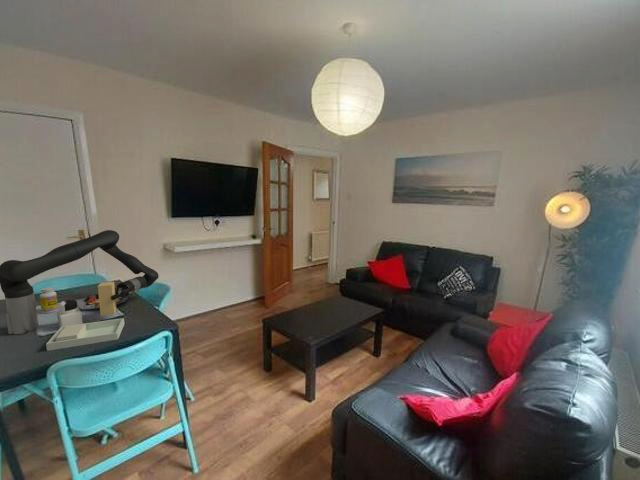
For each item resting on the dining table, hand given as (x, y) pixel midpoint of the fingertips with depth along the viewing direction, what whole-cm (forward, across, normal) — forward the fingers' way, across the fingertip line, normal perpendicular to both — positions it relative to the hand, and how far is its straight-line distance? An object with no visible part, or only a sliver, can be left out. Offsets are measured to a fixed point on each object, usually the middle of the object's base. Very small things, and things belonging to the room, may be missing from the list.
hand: (103, 297), depth 140 cm
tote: (+13, +3, +14) cm, 19 cm away
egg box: (+16, -2, +13) cm, 21 cm away
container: (+5, -14, +14) cm, 21 cm away
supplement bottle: (-10, -41, +14) cm, 45 cm away
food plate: (-25, -24, +14) cm, 37 cm away
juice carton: (-2, 0, +8) cm, 9 cm away
